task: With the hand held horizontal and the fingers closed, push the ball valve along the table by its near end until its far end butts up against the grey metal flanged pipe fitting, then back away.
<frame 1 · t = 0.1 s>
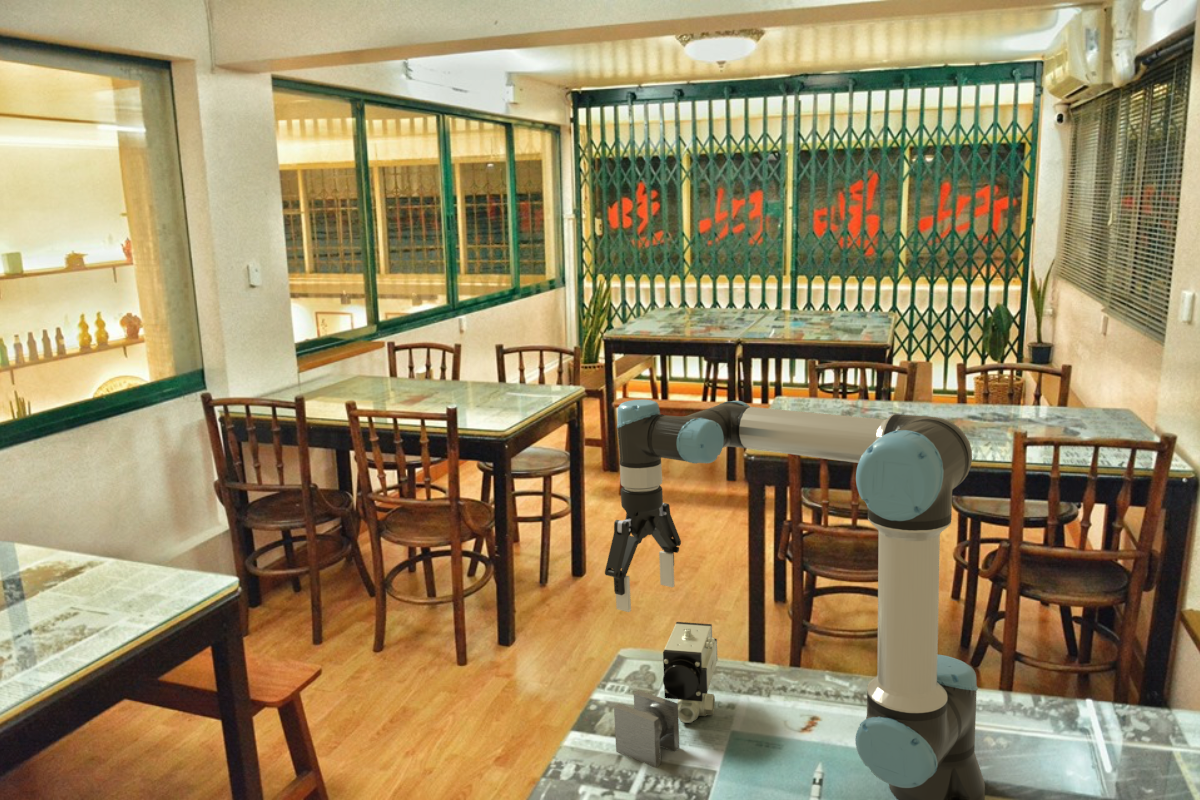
hand: (646, 597, 171), 28 cm above the table, tool pointing down, fingers open, 13 cm apart
flanged fitting: (647, 749, 172), on the table
ball valve: (693, 714, 183), on the table
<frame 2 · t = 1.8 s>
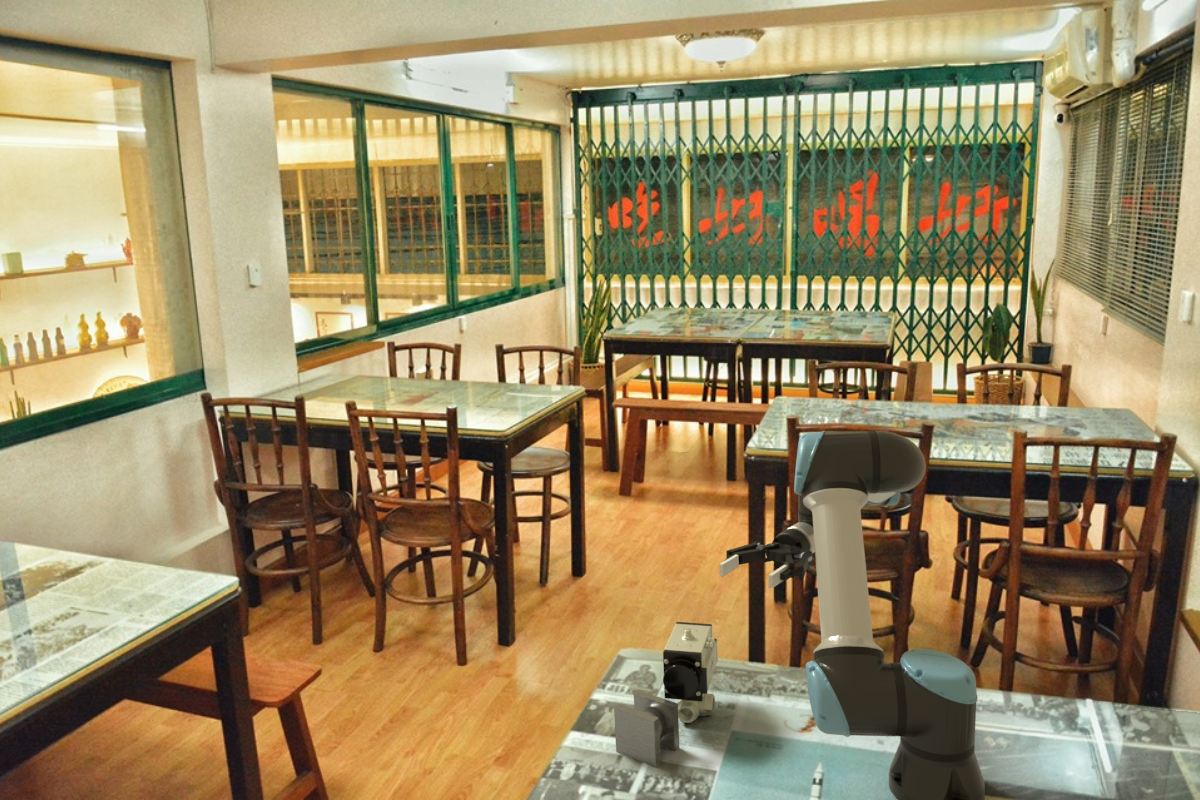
hand: (745, 575, 189), 24 cm above the table, tool horizontal, fingers open, 11 cm apart
nothing on the table moved.
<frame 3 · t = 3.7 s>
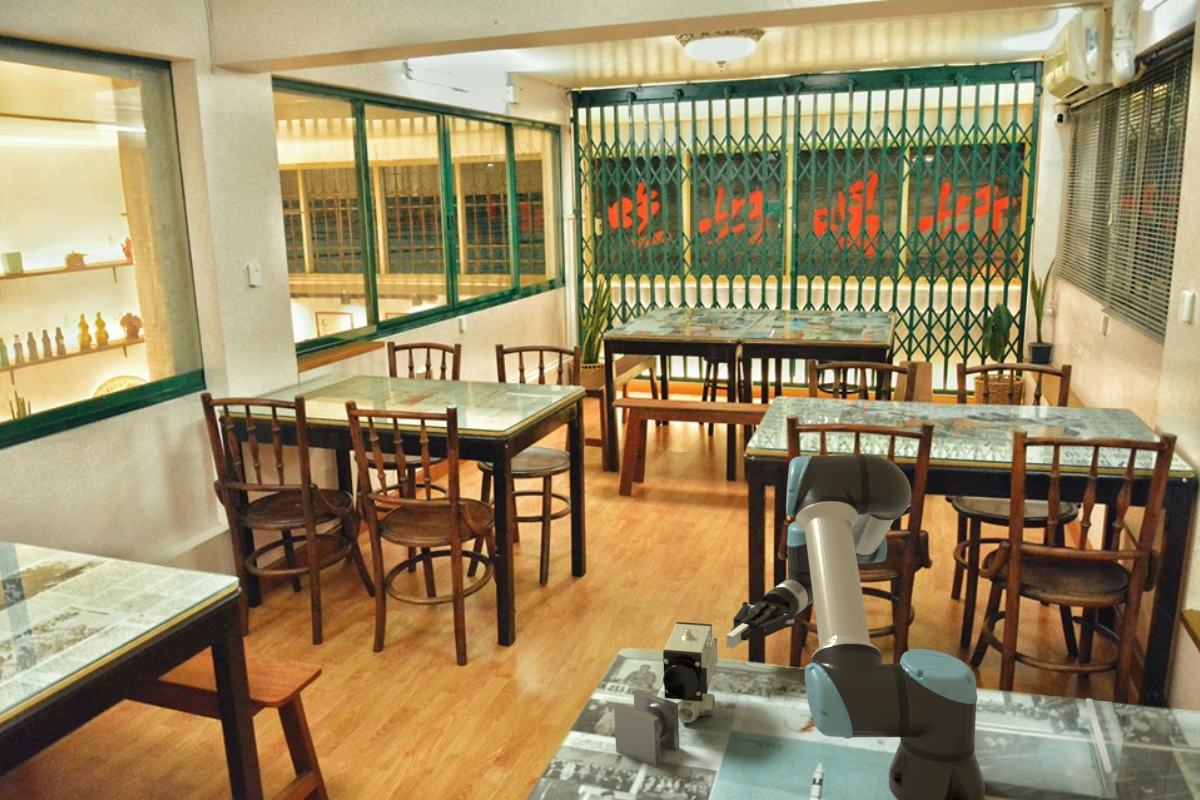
hand: (729, 641, 192), 10 cm above the table, tool horizontal, fingers closed
nothing on the table moved.
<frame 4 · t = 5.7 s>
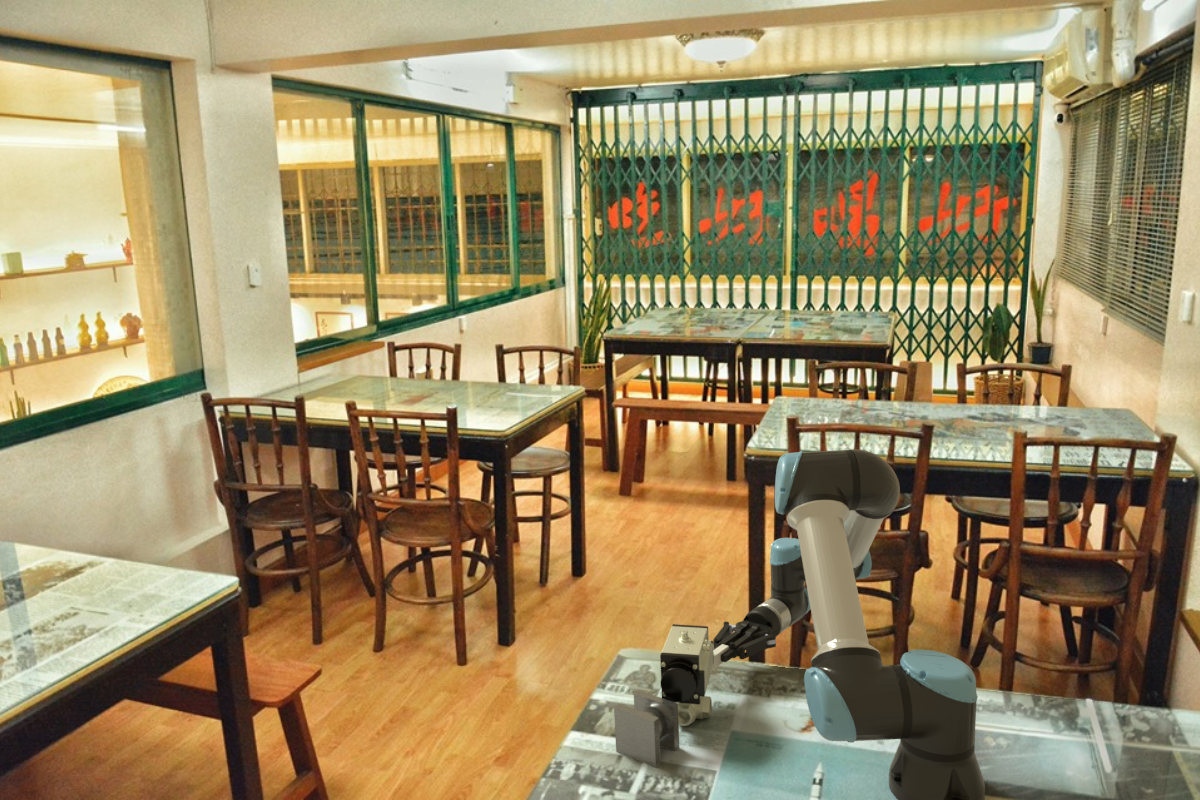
hand: (708, 663, 187), 8 cm above the table, tool horizontal, fingers closed
ball valve: (690, 717, 182), on the table, touching gripper
everything else where it was.
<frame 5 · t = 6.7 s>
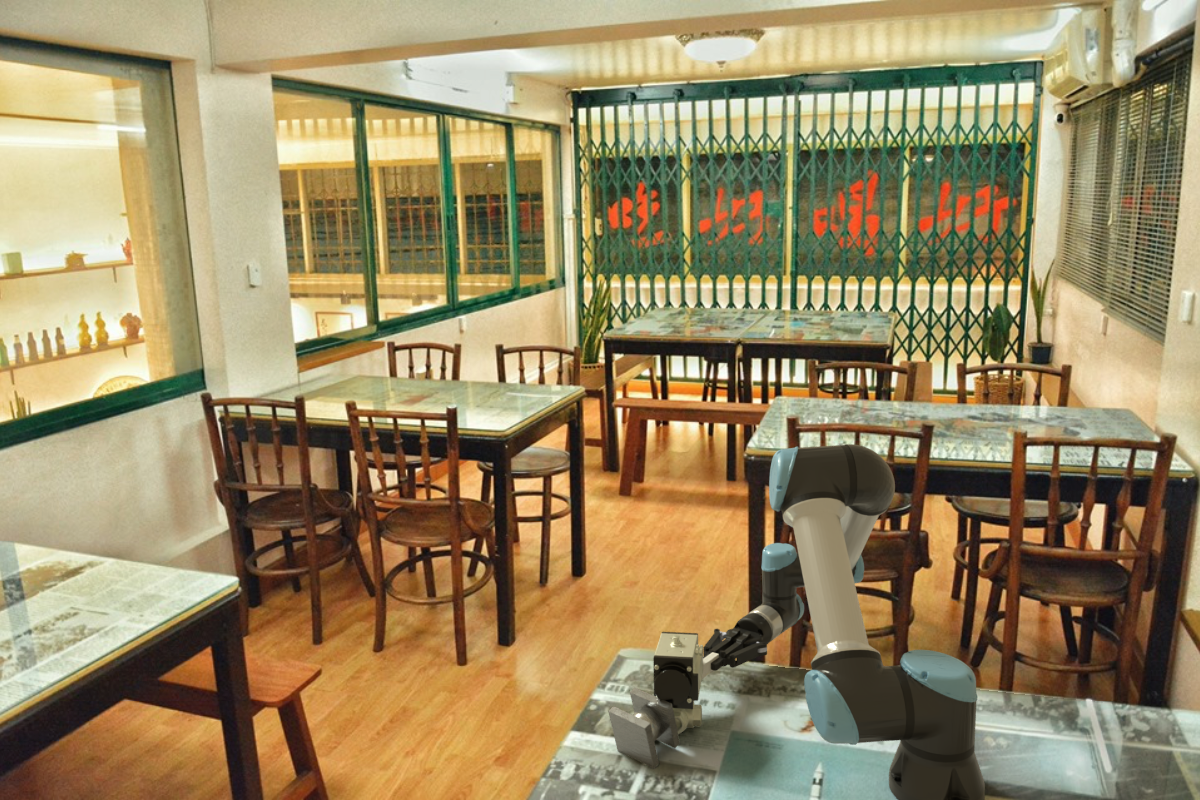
hand: (698, 671, 184), 8 cm above the table, tool horizontal, fingers closed
flanged fitting: (648, 747, 171), point 1 cm above the table, tilted 12°, touching ball valve
ball valve: (680, 726, 178), on the table, touching flanged fitting, gripper
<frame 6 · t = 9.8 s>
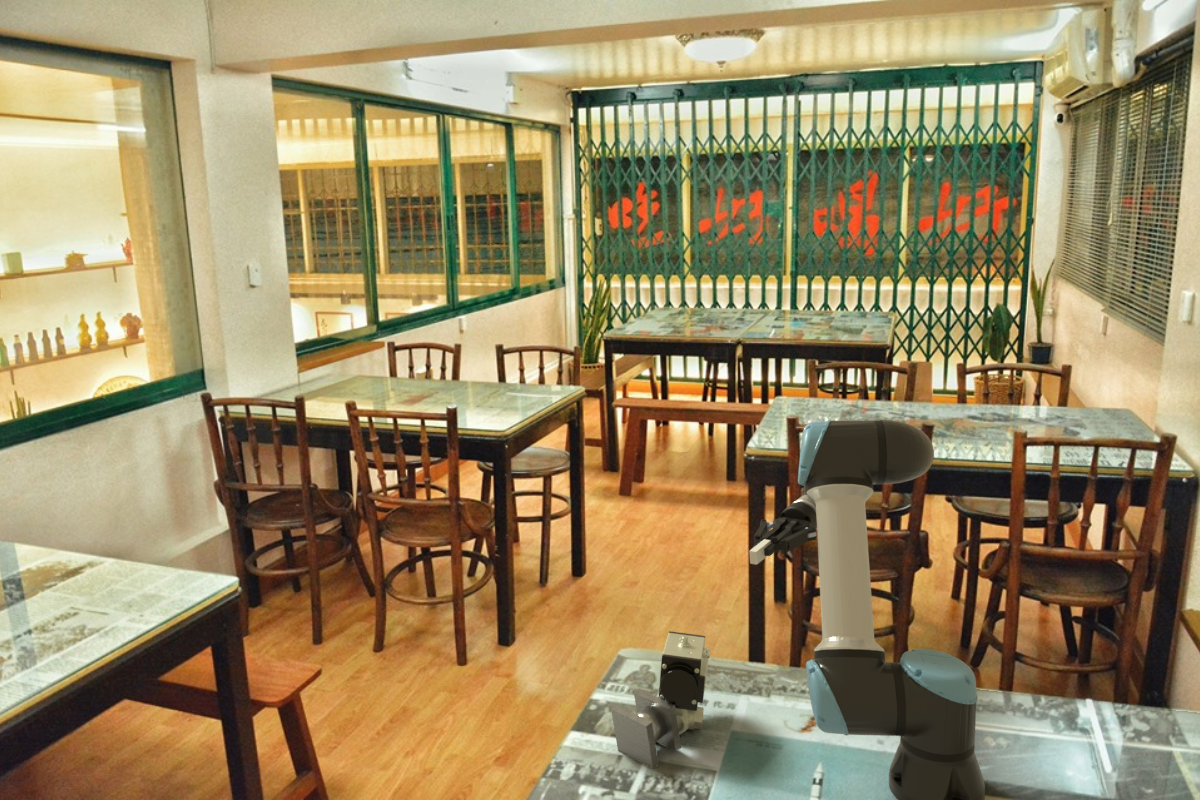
hand: (753, 557, 184), 29 cm above the table, tool horizontal, fingers closed
flanged fitting: (649, 748, 171), on the table, tilted 8°
ball valve: (680, 727, 178), on the table
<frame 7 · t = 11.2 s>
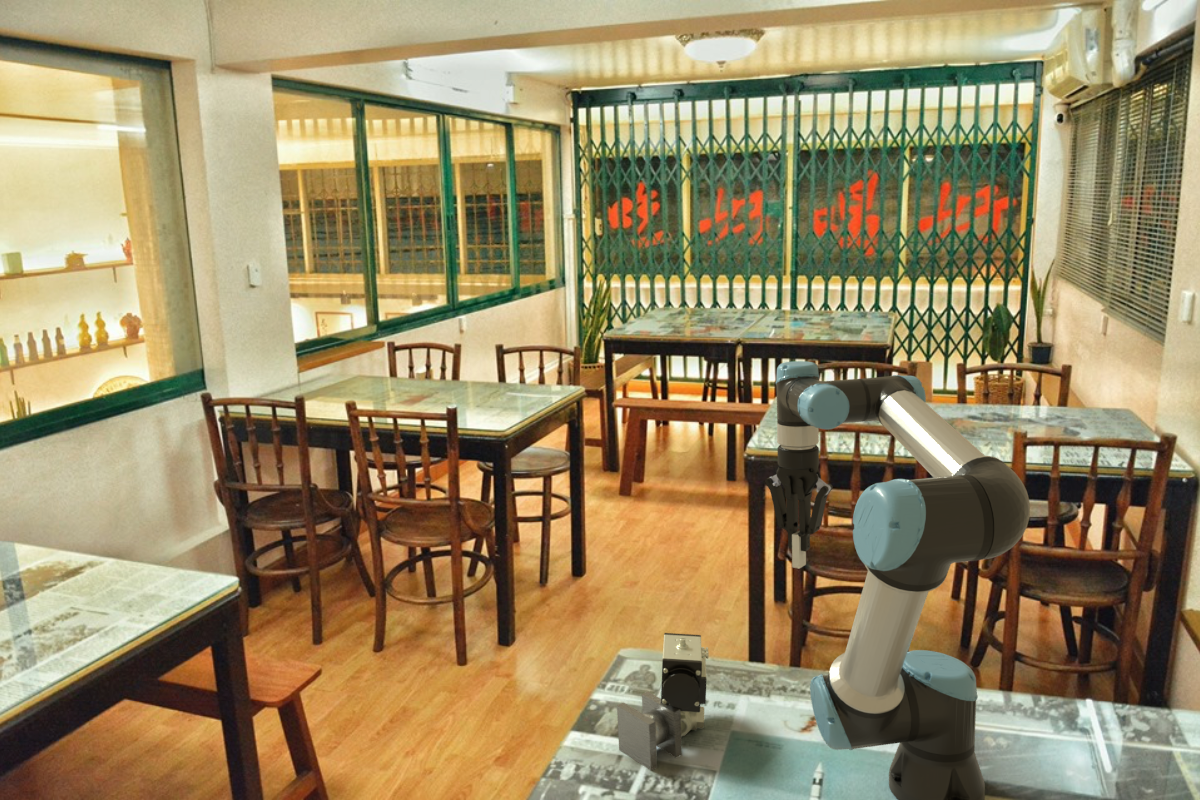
hand: (799, 565, 176), 30 cm above the table, tool pointing down, fingers closed
flanged fitting: (650, 752, 171), on the table, touching ball valve
ball valve: (682, 728, 178), on the table, touching flanged fitting
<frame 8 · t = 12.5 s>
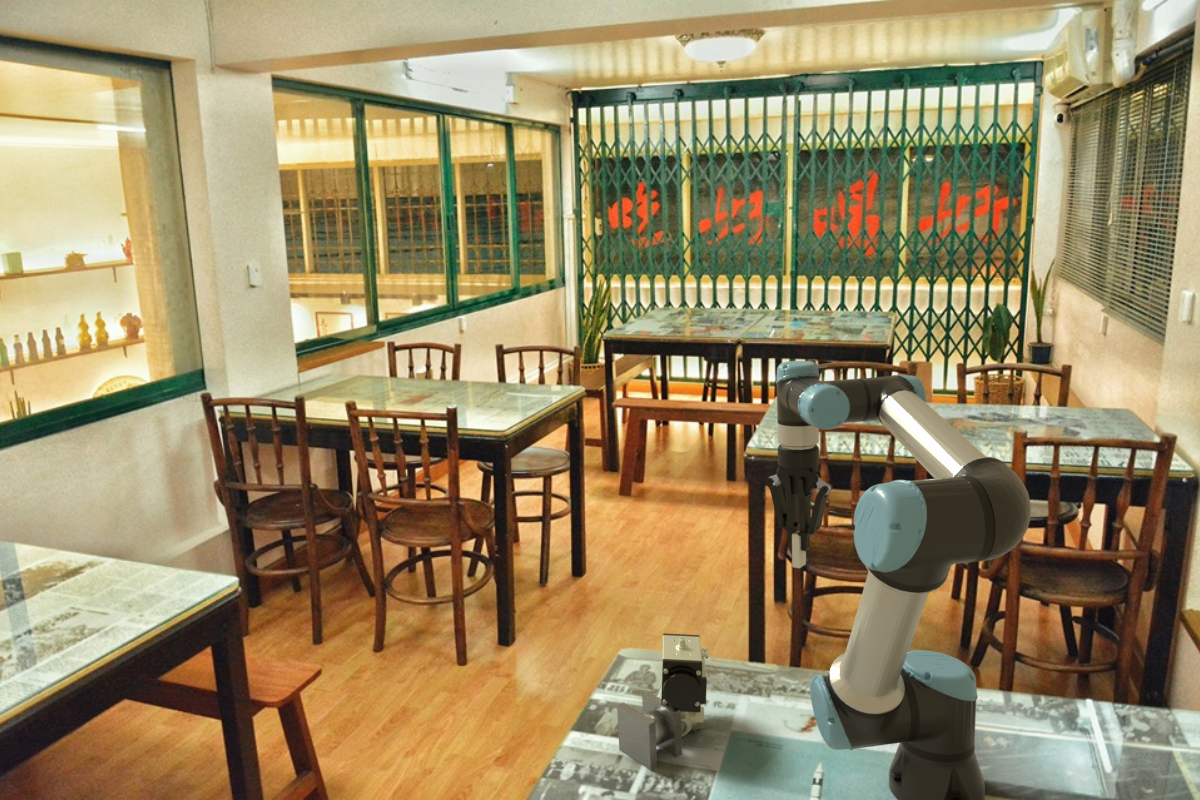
hand: (799, 565, 176), 30 cm above the table, tool pointing down, fingers closed
nothing on the table moved.
at the end: ball valve moved 6.4 cm from its start; ball valve 9.7 cm from the flanged fitting (horizontally); ball valve tilted 6° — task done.
